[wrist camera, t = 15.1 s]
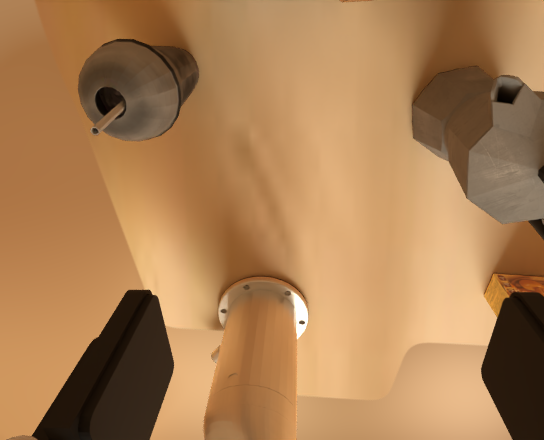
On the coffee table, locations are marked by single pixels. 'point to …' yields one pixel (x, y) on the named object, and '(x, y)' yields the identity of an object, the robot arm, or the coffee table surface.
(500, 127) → the coffeepot
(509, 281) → the candy box
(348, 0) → the hinge
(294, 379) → the robot arm
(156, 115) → the beverage cup
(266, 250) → the coffee table surface
